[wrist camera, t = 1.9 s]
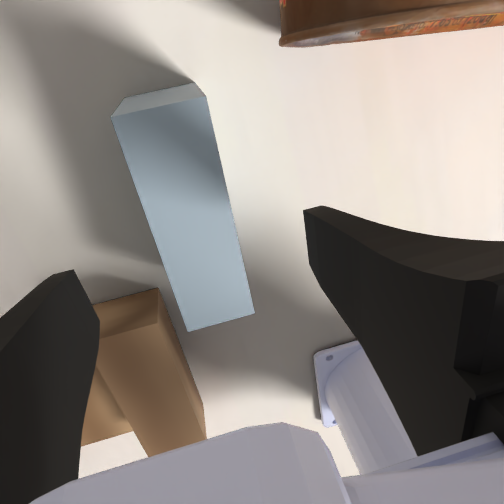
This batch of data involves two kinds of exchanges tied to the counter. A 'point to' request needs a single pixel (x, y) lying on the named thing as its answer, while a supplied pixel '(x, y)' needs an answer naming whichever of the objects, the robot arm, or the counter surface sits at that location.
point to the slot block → (142, 378)
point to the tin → (380, 19)
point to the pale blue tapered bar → (185, 201)
